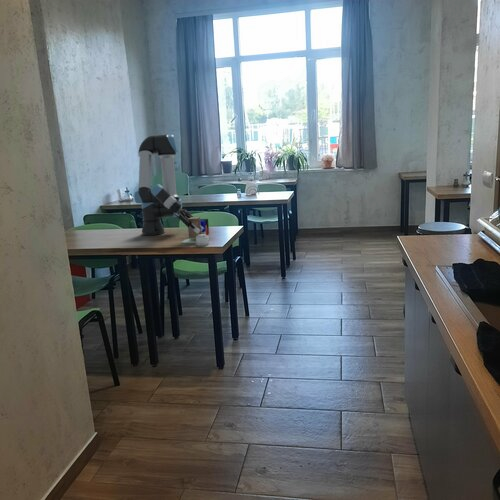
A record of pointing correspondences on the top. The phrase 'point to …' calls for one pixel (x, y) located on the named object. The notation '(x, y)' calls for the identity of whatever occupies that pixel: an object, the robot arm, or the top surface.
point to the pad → (190, 240)
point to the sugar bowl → (202, 240)
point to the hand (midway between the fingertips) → (200, 231)
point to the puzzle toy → (204, 226)
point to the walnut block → (198, 224)
